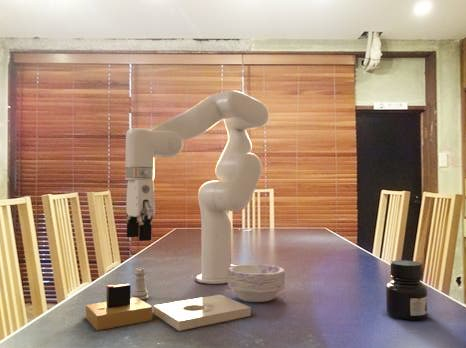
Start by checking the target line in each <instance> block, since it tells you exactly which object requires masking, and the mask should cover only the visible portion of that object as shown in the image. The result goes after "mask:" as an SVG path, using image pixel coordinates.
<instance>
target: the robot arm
mask: <svg viewBox="0 0 466 348" xmlns="http://www.w3.org/2000/svg"><path fill="white" fill-rule="evenodd" d="M269 120H270V112H269V109H268V107H267V105H266V104H265V103H264V102H262V101H260V100H258V99H256V98H254V97H252V96H251V95H248V94H246V93H244V92H242V91H239V90H235V89H234V90H233V89H232V90H227V91H222V92H217V93H213V94H211V95H209V96H207V97H205V98H204V99H202V100H201V101H199V102H198V103H196V104H195V105H194V106H192V107H191V108H189V109H187V110H185V111H183V112H181V113H179V114H177V115H175V116H174V117H171V118H169V119H167V120H164V121H162V122H161V123H159V124H157V125H155V126H154V127H152V128H150V129H149V128H143V127H136V128H130V129H128V130H127V131H126V133H125V168H124V172H125V173H124V177H125V178H124V180H125V181H127V185H126V203H125V204H126V206H125V207H126V209H125V210H126V211H125V212H126V237H127V238H138V241H140V242H145V241H152V235H153V234H152V233H153V231H152V229H153V228H152V226H153V218H154V216H155V215H156V203H155V202H156V200H155V199H156V197H155V185H154V180H155V159H167V158H174V157H176V156H178V155H179V154H180V153H181V152H182V150H183V147H184V141H186V140H191V139H193V138H197V137H199V136H202V135H203V134H205V133H206V132H208V131H209V130H210V129H212V128H213V127H215V126H216V125H217V124H218V123H220V122H222V121H223V123H224V126H225V129H226V132H227V142H226V145H225V146H224V149H223V151H222V153H221V155H220V157H219V159H218V161H217V163H216V166H215V169H214V171H215V176H216V177H217V179H218V180H210V181H206V182H204V183H203V184H202V185H201V186H200V187H199V189H198V193H197V201H198V206H199V211H200V223H201V224H200V226H201V227H200V228H201V233H200V235H201V236H200V237H201V240H200V241H201V243H200V245H201V251H200V252H201V253H200V255H201V257H200V258H201V262H200V263H201V265H200V267H201V273H200V274H198V275H197V276H196V281H197V282H198V283H201V284H207V285H221V284H228V269H229V268H230V267H232V266H237V265H235V264H233V263H232V222H231V218H230V215H229V213H228V212H240V211H243V210H245V209H246V207H247V206H248V205H249V203H250V202H251V199H252V197H253V194H254V193H255V190H256V187H257V185H258V183H259V181H260V179H261V175H262V161H261V159H260V158H259V156H258V155H257V154H255V153H252V148H253V146H252V145H253V144H252V141H251V139H250V137H249V134H248V132H247V130H252V129H253V130H254V129H260V128H263V127H265V126H266V125H267V124H268V122H269Z"/></svg>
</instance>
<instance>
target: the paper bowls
mask: <svg viewBox="0 0 466 348" xmlns="http://www.w3.org/2000/svg"><path fill="white" fill-rule="evenodd" d="M285 275H286V273H285V269H284V268H283V267H282V266H281V267H280V266H276V265H271V264H258V263H256V264H255V263H252V264H238V265H236V266H235V265H234V266H232V267H230V268H229V269H228V283H227V287H228V288H229V289H230V290H233V291H234V293H235V296H236V298H237V299H239V300H241V301H244V302H249V303H265V302H270V301H272V300H275V298H276V297H277V295H278V293H279V292H281V291H283V290H284V289H285V285H286V283H285V279H286V278H285Z"/></svg>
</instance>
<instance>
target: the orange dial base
mask: <svg viewBox="0 0 466 348" xmlns="http://www.w3.org/2000/svg"><path fill="white" fill-rule="evenodd" d="M85 319H86V320H87V322H89V324H91V326H93V328H95V330H96V331H102V330H106V329H113V328H117V327H122V326H123V327H124V326H127V325H133V324H138V323H144V322H149V321H152V320H153V307H152V306H151V305H150V304H149V303H147V302H145V301H144V300H140V299H139V298H137V297H135V298H131V297H130V305H125V306H119V307H113V308H108V307H107V301H104V302H96V303H90V304H86V305H85Z"/></svg>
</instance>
